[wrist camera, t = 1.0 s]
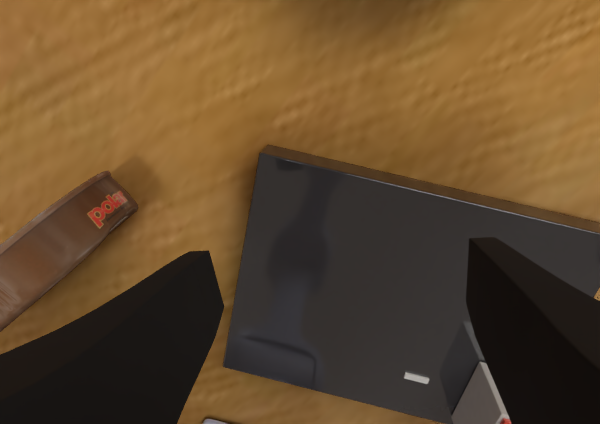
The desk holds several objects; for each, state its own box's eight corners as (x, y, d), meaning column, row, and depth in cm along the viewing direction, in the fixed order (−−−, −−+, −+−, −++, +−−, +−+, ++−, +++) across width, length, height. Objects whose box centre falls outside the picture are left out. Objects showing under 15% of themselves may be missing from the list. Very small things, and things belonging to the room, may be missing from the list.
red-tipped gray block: (476, 423, 24) (498, 486, 20) (450, 416, 24) (467, 478, 20) (507, 367, 22) (536, 426, 18) (479, 360, 22) (503, 418, 18)
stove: (507, 431, 26) (520, 462, 24) (228, 360, 27) (219, 385, 25) (630, 229, 20) (660, 248, 18) (267, 143, 21) (258, 153, 19)
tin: (133, 152, 22) (13, 205, 14) (171, 195, 23) (77, 268, 15) (-10, 281, 27) (-159, 374, 19) (25, 313, 27) (-104, 416, 20)
